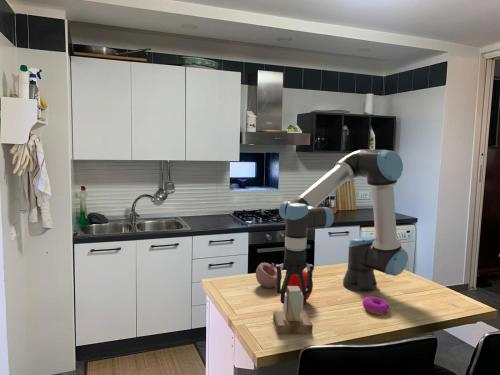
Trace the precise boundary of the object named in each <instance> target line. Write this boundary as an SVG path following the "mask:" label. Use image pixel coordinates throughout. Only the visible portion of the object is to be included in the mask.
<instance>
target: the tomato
mask: <svg viewBox="0 0 500 375" xmlns="http://www.w3.org/2000/svg"><path fill="white" fill-rule="evenodd" d="M302 273H303V279H304V283H305V288H306V289H307V271H305V270H303V271H302ZM288 286H299V288H300V290H301V285H300V281H299V276H298V275H297V274H293V275H291V277H290V280H289V283H288ZM313 287H314V282H313V280H312V289H313ZM301 292H302V290H301ZM286 294H287V289H286ZM311 294H312V292H311V293H308V294H307V296H306V301H307V300H308V299H309V298H310V297H311Z"/></svg>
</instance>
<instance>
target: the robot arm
mask: <svg viewBox="0 0 500 375" xmlns="http://www.w3.org/2000/svg"><path fill="white" fill-rule="evenodd" d="M403 170H404V165H403V160H402V157H401V156H400V155H399V154H398V153H397V152H396V151H394V150H388V149H368V148H364V149H362V148H361V149H358V150H355V151H353V152H351V153H349V154H346V155H345V156H344V157H342V158H341V159H340V160H338V161H337V162H336V163H335V165H334V167H333V168H332V169H331V170H330V171H328V172H327V173H325V175H324V176H322V177H321V178H320V179H319V180H317V181H316V182H315V183H313V184H312V185H311V186H309V188H307V189H306V190H304V191H303V192H302V193H301V194H300V195H299V196H297V197H296V198H295V199H293V200H292V201H291V200H289V201H288V200H286V201H283V202H282V203H281V204H280V206H279V209H278V212H279V216H280V218H282V219H283V220H285V234H284V236H285V238H284V247H285V248H284V258H283V261H282V263H280V264H278V263H276V264H274V267H275V268H276V270H277V276H276V286H275V291H276V293H277V294H279V295H280V300H279V301H280V303H281V304H282V311H284V313H286V310H287V294H286V289H287V286H288V283H289V280H290V277H291V275H293V274H297V275H298V276H299V281H300V285H301V290H302V292H301V307H300V313H303V311H304V304H306V302H307V300H306V296H307V294H308V293H311V294H312V292H313V288H312V281H313V272H314V269H315V266H314V265H313V264H312V263H310V264H309V263H308V262H307V244H308V243H307V242H308V241H307V240H308V231H310V230H319V229H325V228H329V227H331V226H332V225H333V223H334V220H335V218H334V217H335V214H334V213H333V211H332V209H331V208H330V207H327V206H320V207H319V206H318V205H319V204H321V203H323V202H324V201H325V200H326V199H328V197H330V196H331V195H332V194H333V193H334V192H335V191H336V190H338V189H339V188H340V187H341V186H342V185H344V184H345V183H346V182H350V181H352V180H353V179H355V178H357V177H359V178H361V177H363V178H366V182H367V185H368V186H370V188H371V196H372V209H373V210H372V211H373V223H374V233H375V234H374V236H375V237H372V236H355V237H352V238H350V240H349V243H348V244H349V245H348V256H347V258H348V260H347V270H346V272H345V274H344V276H343V279H342V281H343V282H342V284H343V286H344V287H345V288H346V289H347V290H351V291H355V292H360V293H370V292H374V291H376V290H377V287H378V286H377V285H378V284H377V279H376V275H375V271H378V272H381V273H384V274H385V275H389V276H393V277H394V276H396V277H397V276H399V275H401V274H402V273H403V271H404V270H405V269H406V267H407V264H408V261H409V260H408V259H409V255H408V252H407V251H406V250H405V249H402V242H401V241H400V240H399V239H398V236H397V235H398V233H397V221H396V220H397V218H396V205H395V203H396V202H395V201H396V200H395V190H394V186H395V185H396V184H397V183H398V180H399V179H400V178H401V176H402V174H403V172H404V171H403ZM283 268H285V275H284V278H283V282H282V279H281V274H282V271H283ZM305 269H306V270H307V271H306V272H307V289H306V288H305V283H304V279H303V273H302V271H305ZM281 282H282V283H281ZM281 284H282V285H281Z"/></svg>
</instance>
